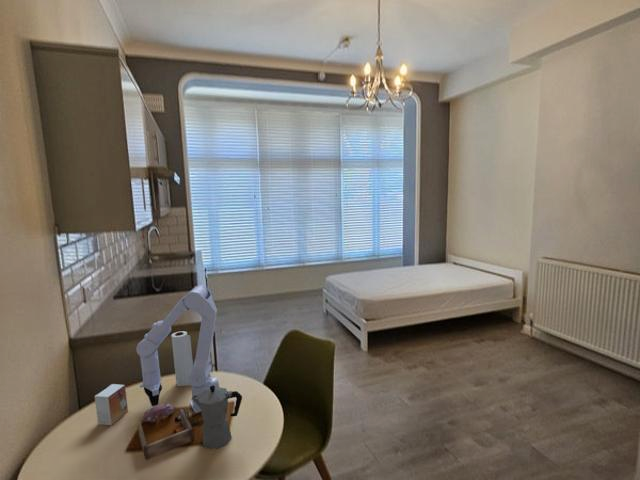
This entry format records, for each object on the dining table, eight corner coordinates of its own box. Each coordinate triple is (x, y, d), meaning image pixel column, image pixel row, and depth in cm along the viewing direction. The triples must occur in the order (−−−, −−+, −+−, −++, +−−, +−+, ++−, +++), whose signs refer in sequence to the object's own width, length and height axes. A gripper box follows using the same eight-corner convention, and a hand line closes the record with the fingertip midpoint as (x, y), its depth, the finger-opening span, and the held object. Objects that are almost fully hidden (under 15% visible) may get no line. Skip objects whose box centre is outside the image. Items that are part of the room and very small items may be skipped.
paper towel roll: (174, 382, 146) (169, 333, 143) (189, 377, 149) (184, 329, 146) (179, 389, 140) (174, 338, 137) (194, 384, 143) (190, 334, 140)
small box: (111, 426, 119) (107, 397, 118) (97, 424, 120) (93, 396, 119) (128, 411, 127) (125, 384, 125) (115, 410, 128) (112, 383, 127)
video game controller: (144, 429, 119) (142, 417, 115) (143, 417, 122) (141, 405, 119) (175, 420, 123) (174, 408, 120) (173, 408, 127) (172, 396, 123)
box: (183, 419, 121) (182, 408, 120) (193, 440, 110) (192, 428, 110) (138, 436, 113) (137, 425, 113) (145, 460, 103) (143, 448, 102)
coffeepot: (191, 452, 105) (185, 396, 103) (199, 430, 115) (194, 379, 112) (242, 447, 106) (238, 392, 104) (247, 427, 116) (243, 376, 113)
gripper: (135, 365, 130) (139, 399, 132) (141, 382, 118) (145, 419, 120) (156, 359, 134) (160, 392, 136) (163, 375, 122) (167, 411, 124)
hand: (154, 404), depth 128 cm, fingers closed
